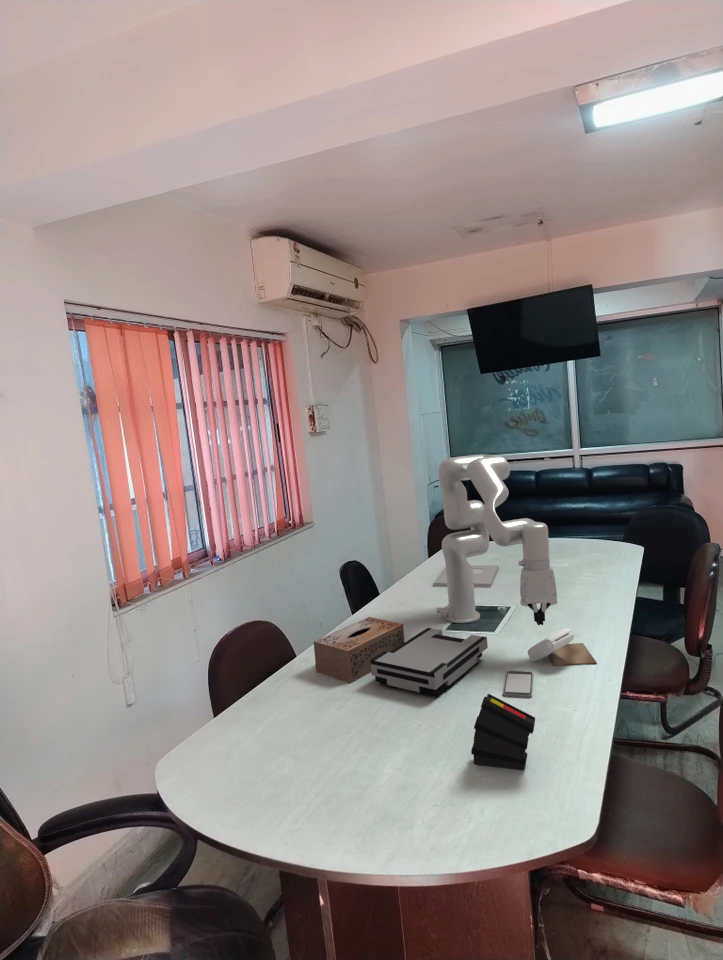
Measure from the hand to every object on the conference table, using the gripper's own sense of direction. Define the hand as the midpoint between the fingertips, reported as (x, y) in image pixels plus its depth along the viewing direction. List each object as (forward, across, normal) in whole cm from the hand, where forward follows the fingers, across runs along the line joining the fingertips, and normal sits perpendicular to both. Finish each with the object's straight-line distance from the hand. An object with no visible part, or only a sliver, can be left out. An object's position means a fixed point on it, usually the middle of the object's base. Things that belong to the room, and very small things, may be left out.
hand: (539, 623), depth 187 cm
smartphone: (+11, -10, -19) cm, 24 cm away
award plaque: (+11, -15, +92) cm, 94 cm away
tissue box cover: (+11, -55, +1) cm, 56 cm away
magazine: (+10, -18, -57) cm, 61 cm away
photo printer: (+8, 0, 0) cm, 8 cm away
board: (+10, +8, 0) cm, 13 cm away
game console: (+11, -33, -8) cm, 36 cm away
